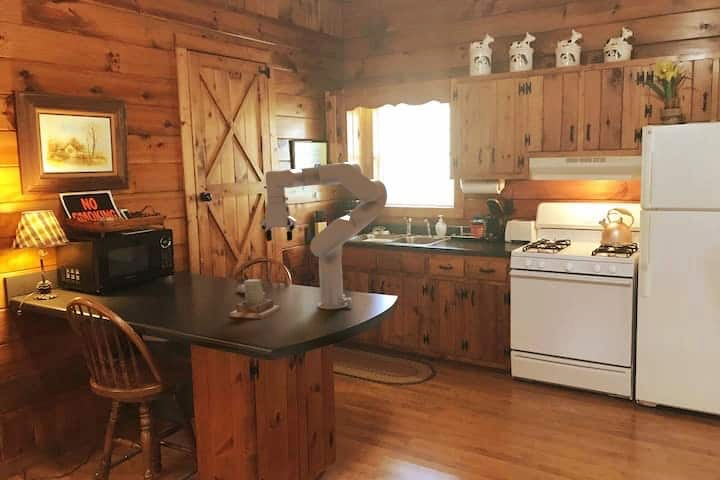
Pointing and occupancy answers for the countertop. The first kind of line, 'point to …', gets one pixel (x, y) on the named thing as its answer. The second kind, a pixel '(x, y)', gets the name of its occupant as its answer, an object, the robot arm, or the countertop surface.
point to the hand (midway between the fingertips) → (279, 240)
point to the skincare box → (253, 292)
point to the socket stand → (255, 310)
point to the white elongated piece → (242, 288)
